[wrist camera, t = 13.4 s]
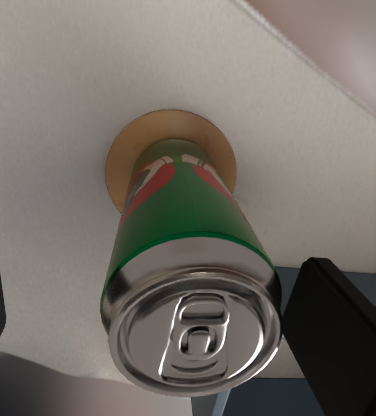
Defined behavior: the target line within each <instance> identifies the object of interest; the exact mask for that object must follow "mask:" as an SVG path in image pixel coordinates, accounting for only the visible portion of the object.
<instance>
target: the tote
mask: <svg viewBox="0 0 376 416" xmlns="http://www.w3.org/2000/svg"><path fill="white" fill-rule="evenodd" d="M275 269H276V271H277V273H278V276H279V279H280V283H281V287H282V301H281V307H280V310H281V314H282V316H283V314H284V311H285V308H286V306H287V303H288V300H289V298H290V295H291V292H292V290H293V287H294V284H295V282H296V279H297V276H298V274H299V271H300V269H297V268H283V267H275ZM342 273H343V274H344V275H345V276H346V277H347V278H348V279H349V280H350V281H351V282H352V283H353V284H354V285H355V286H356V287H357V288H358V289H359V290H360V291H361V292H362V293H363V295H364V296H365V297H366V298H367V299H368V300H369V301H370V302H371V303H372V304H373V305H374V306H375V307H376V274H365V273H352V272H342ZM282 339H285V337H284V335H283V334H282ZM191 403H192V413H193V416H325V415H324V413H323V411H322V409H321V407H320V405H319V403H318V401H317V399H316V397H315V395H314V393H313V391H312V390H311V388H310V386H309V384H308V382H307V380H306V379H263V378H250V379H249V380H247V381H245V382H244V383H242V384H240V385H238V386H236V387H233V388H231V389H228V390H226V391H222V392H219V393H216V394H211V395H206V396H198V397H191Z"/></svg>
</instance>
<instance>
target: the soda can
mask: <svg viewBox="0 0 376 416" xmlns="http://www.w3.org/2000/svg"><path fill="white" fill-rule="evenodd" d="M281 301H282V287H281V283H280V279H279V276H278V273H277V271H276V269H275V267H274V265H273V264H272V262H271V260H270V258H269V257H268V255H267V253H266V252H265V250H264V248H263V246H262V245H261V243H260V241H259V240H258V238H257V236H256V235H255V233H254V231H253V229H252V228H251V226H250V224H249V223H248V221H247V219H246V217H245V216H244V214H243V212H242V211H241V209H240V207H239V205H238V204H237V202H236V200H235V199H234V197H233V195H232V193H231V192H230V190H229V188H228V187H227V185H226V183H225V181H224V180H223V178H222V176H221V175H220V173H219V171H218V170H217V168H216V166H215V164H214V163H213V161H212V159H211V158H210V156H209V155H208V154H207V153H206V152H205V151H204V150H203V149H202V148H201V147H200V146H198V145H197V144H195V143H192V142H190V141H187V140H183V139H167V140H162V141H159V142H156V143H154V144H153V145H151V146H149V147H148V148H147V149H145V150H144V151H143V152H142V153H141V154H140V156H139V157H138V159H137V160H136V162H135V164H134V167H133V170H132V174H131V178H130V182H129V186H128V191H127V195H126V199H125V203H124V207H123V211H122V215H121V219H120V223H119V227H118V231H117V235H116V239H115V243H114V247H113V251H112V255H111V260H110V264H109V268H108V272H107V276H106V280H105V284H104V288H103V292H102V296H101V302H100V313H101V319H102V323H103V326H104V328H105V331H106V333H107V335H108V336H109V340H108V342H109V348H110V353H111V356H112V359H113V361H114V364H115V365H116V367H117V368H118V369H119V371H120V372H121V373H122V374H123V375H124V376H125V377H126V378H127V379H128V380H130V381H131V382H133V383H134V384H135V385H137V386H139V387H141V388H143V389H145V390H148V391H151V392H154V393H157V394H161V395H166V396H173V397H198V396H206V395H211V394H216V393H219V392H222V391H226V390H228V389H231V388H233V387H236V386H238V385H240V384H242V383H244V382H245V381H247V380H249V379H250V378H252V377H253V376H255V375H256V374H257V373H258V372H260V371H261V370H262V369H263V368H264V367H265V366H266V365H267V364H268V363H269V361H270V360H271V359H272V358H273V356H274V355H275V353H276V351H277V350H278V347H279V345H280V342H281V339H282V334H283V319H282V314H281V310H280V307H281Z"/></svg>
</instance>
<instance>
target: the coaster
mask: <svg viewBox="0 0 376 416" xmlns="http://www.w3.org/2000/svg"><path fill="white" fill-rule="evenodd" d="M167 139H183V140H187V141H190V142H192V143H195V144H197V145H198V146H200V147H201V148H202V149H203V150H204V151H205V152H206V153H207V154H208V155H209V156H210V158H211V159H212V161H213V163H214V164H215V166H216V168H217V170H218V171H219V173H220V175H221V176H222V178H223V180H224V181H225V183H226V185H227V187H228V188H229V190H230V192H231V193H233V190H234V186H235V181H236V162H235V158H234V154H233V151H232V149H231V146H230V144H229V143H228V141H227V139H226V138H225V136H224V135H223V134H222V133H221V131H220V130H219V129H218V128H217V127H216V126H215V125H213V124H212V123H211V122H209V121H208V120H207V119H205V118H203V117H201V116H199V115H197V114H194V113H191V112H188V111H183V110H174V109H169V110H159V111H154V112H151V113H148V114H145V115H143V116H141V117H139V118H137V119H136V120H134V121H133V122H131V123H130V124H129V125H128V126H126V127H125V128H124V129H123V130H122V131H121V133H120V134H119V135H118V136H117V138H116V140H115V141H114V143H113V145H112V146H111V149H110V151H109V154H108V158H107V161H106V170H105V174H106V184H107V188H108V191H109V194H110V197H111V199H112V201H113V203H114V204H115V206H116V207H117V209H118V210H119V211H120V212H121V213H122V211H123V207H124V203H125V199H126V195H127V191H128V186H129V182H130V178H131V174H132V170H133V167H134V164H135V162H136V160H137V159H138V157H139V156H140V154H141V153H142V152H143V151H144V150H145V149H147V148H148V147H149V146H151V145H153V144H154V143H156V142H159V141H162V140H167Z"/></svg>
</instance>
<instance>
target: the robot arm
mask: <svg viewBox="0 0 376 416" xmlns="http://www.w3.org/2000/svg"><path fill="white" fill-rule="evenodd" d="M282 319H283V335H284V337H285V339H286V341H287V343H288V345H289V347H290V349H291V351H292V353H293V355H294V357H295V359H296V361H297V362H298V364H299V366H300V368H301V370H302V372H303V374H304V376H305V378H306V380H307V382H308V384H309V386H310V388H311V390H312V391H313V393H314V395H315V397H316V399H317V401H318V403H319V405H320V407H321V409H322V411H323V413H324V415H325V416H376V307H375V306H374V305H373V304H372V303H371V302H370V301H369V300H368V299H367V298H366V297H365V296H364V295H363V293H362V292H361V291H360V290H359V289H358V288H357V287H356V286H355V285H354V284H353V283H352V282H351V281H350V280H349V279H348V278H347V277H346V276H345V275H344V274H343V273H342V272H341V271H340V270H339V269H338V268H337V267H336V265H335V264H334V263H333V262H332V261H331V260H329V259H328V258H315V257H311V258H309V259H308V260H307V261H305V262H304V263H303V264H302V266H301V268H300V271H299V274H298V276H297V279H296V282H295V284H294V287H293V290H292V292H291V295H290V298H289V300H288V303H287V306H286V308H285V311H284V314H283V316H282ZM5 323H6V312H5V305H4V297H3V290H2V283H1V275H0V335H1V334H2V332H3V330H4V327H5Z"/></svg>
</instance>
